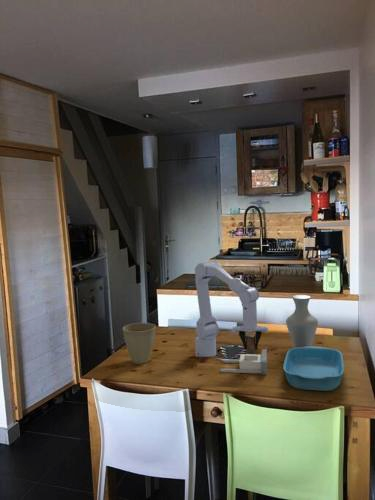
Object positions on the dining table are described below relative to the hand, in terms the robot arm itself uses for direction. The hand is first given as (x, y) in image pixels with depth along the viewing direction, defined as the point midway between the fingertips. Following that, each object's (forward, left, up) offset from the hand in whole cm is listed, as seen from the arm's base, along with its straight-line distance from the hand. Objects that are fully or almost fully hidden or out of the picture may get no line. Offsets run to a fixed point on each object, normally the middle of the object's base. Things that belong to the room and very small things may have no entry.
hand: (250, 348), depth 182 cm
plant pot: (-50, +7, -9) cm, 52 cm away
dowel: (0, 0, -2) cm, 2 cm away
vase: (+23, +28, -9) cm, 37 cm away
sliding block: (0, 0, -8) cm, 8 cm away
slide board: (-3, 0, -9) cm, 10 cm away
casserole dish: (+25, -5, -10) cm, 27 cm away
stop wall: (+5, 0, -8) cm, 10 cm away
